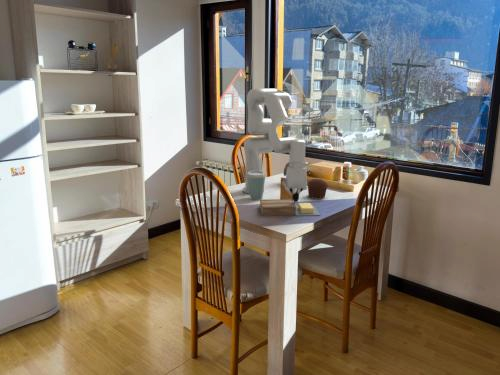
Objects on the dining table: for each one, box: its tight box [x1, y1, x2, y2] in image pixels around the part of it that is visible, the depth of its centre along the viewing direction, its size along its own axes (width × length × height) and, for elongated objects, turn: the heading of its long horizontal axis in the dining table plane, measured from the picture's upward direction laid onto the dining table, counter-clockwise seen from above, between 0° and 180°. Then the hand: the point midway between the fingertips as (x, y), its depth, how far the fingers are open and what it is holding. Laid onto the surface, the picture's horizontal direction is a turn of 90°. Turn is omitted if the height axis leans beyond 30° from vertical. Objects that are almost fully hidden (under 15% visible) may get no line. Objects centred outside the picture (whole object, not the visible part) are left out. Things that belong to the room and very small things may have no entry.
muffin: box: [307, 178, 329, 200], centre depth 233 cm, size 12×11×10 cm
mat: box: [294, 204, 321, 217], centre depth 208 cm, size 16×12×1 cm
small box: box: [279, 175, 297, 203], centre depth 225 cm, size 8×6×13 cm
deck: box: [259, 198, 296, 217], centre depth 207 cm, size 14×16×4 cm
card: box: [298, 202, 314, 213], centre depth 207 cm, size 9×6×2 cm, turn 2°
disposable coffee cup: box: [245, 170, 266, 201], centre depth 227 cm, size 11×11×15 cm
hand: (295, 201), depth 207 cm, fingers closed
